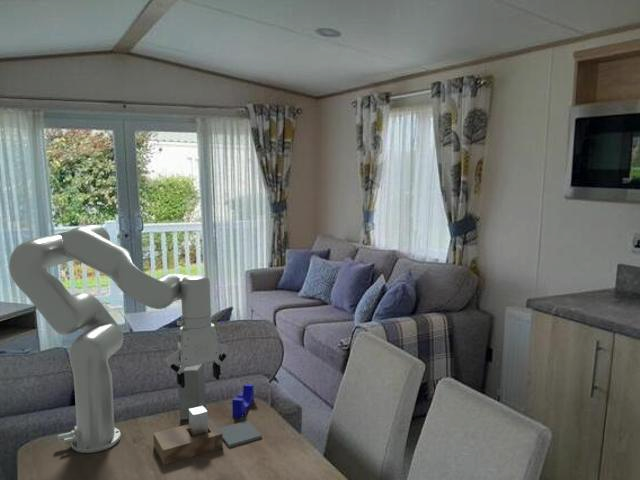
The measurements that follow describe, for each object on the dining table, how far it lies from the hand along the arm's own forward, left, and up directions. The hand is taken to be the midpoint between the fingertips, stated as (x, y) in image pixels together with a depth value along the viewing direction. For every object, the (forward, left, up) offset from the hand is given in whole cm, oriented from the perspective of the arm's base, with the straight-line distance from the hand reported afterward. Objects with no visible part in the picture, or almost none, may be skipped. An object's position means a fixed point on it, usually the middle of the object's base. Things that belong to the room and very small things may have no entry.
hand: (199, 381), depth 136 cm
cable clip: (+18, +14, -19) cm, 29 cm away
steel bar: (0, 0, -18) cm, 18 cm away
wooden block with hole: (-3, 0, -18) cm, 18 cm away
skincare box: (+4, +18, -18) cm, 26 cm away
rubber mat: (+11, -1, -18) cm, 21 cm away
